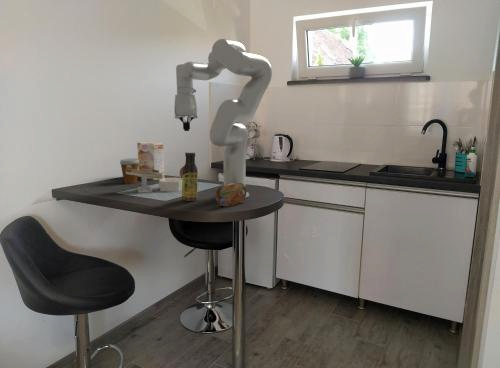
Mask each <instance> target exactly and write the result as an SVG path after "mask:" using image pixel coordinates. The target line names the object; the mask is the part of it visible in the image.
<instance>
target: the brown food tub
mask: <svg viewBox="0 0 500 368" xmlns="http://www.w3.org/2000/svg"><path fill="white" fill-rule="evenodd" d="M119 163H120V167H121V172H122V178H123V183H124V184H136V183H137V182H138V176H137V175H129V174H126V166H127V165H131V166H132V169H136V170H139V168H138V163H139V161H138V158H121V159H120V161H119Z"/></svg>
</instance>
